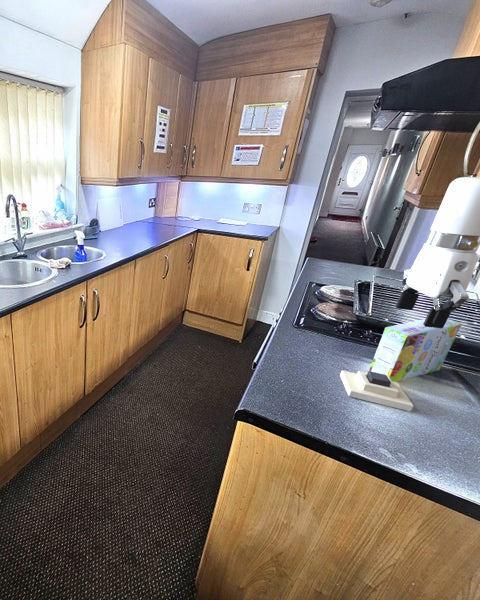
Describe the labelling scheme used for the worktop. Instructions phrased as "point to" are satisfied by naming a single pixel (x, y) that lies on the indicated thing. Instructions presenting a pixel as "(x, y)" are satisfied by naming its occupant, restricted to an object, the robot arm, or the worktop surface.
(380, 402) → the cream stepped base
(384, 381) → the dark grey square block
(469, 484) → the worktop surface
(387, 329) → the snack box
